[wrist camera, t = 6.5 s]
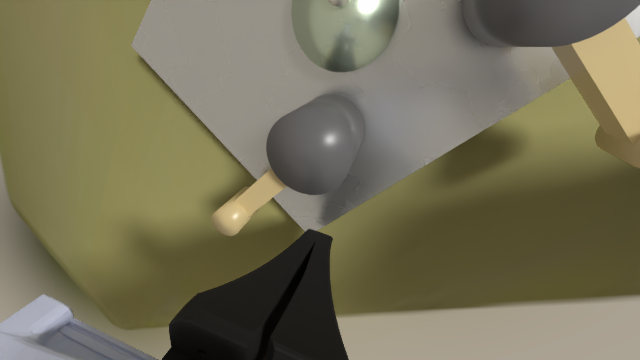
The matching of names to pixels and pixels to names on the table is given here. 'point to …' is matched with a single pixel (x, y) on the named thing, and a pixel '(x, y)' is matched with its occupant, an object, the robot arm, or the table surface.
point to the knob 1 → (300, 157)
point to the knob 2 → (577, 55)
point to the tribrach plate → (342, 80)
